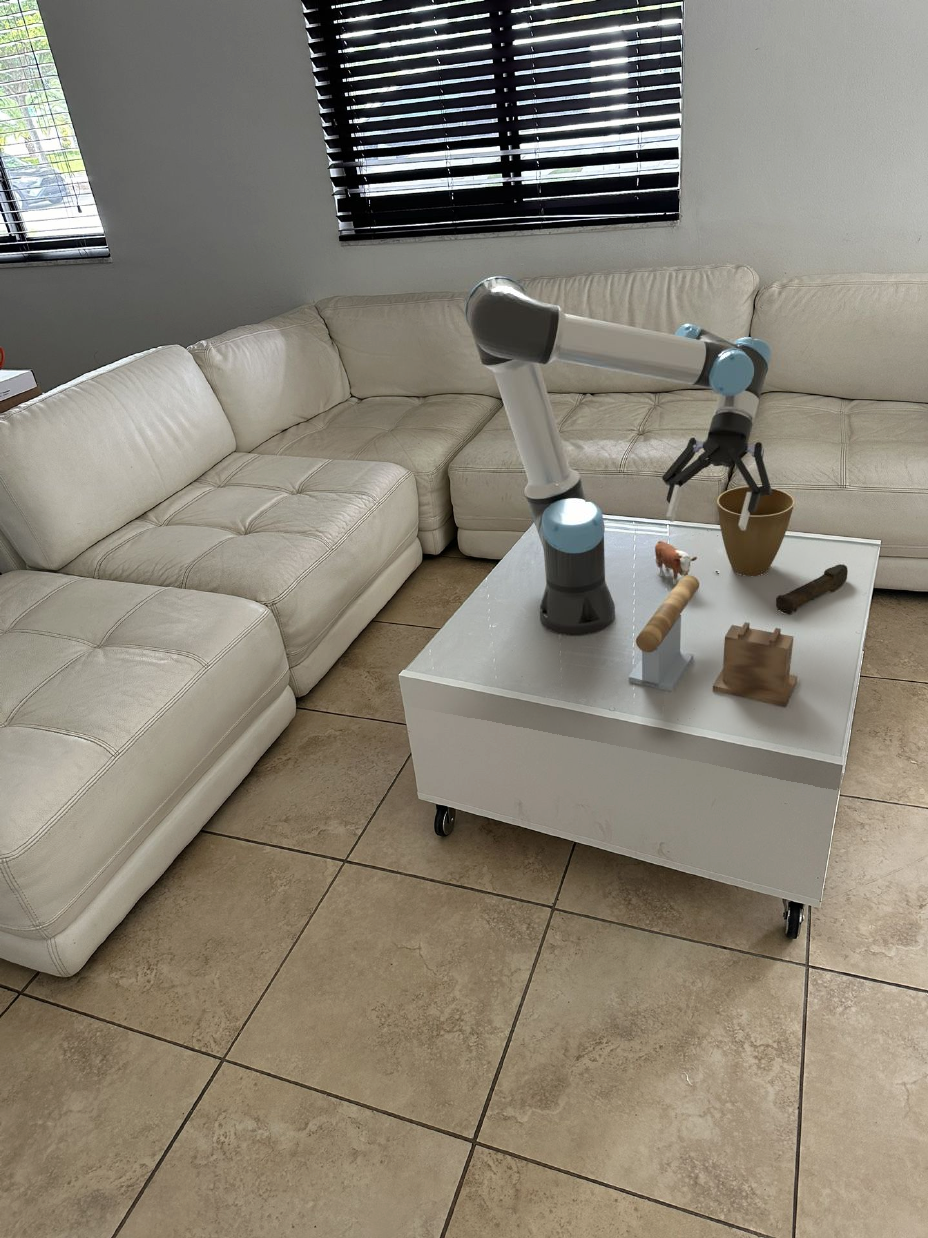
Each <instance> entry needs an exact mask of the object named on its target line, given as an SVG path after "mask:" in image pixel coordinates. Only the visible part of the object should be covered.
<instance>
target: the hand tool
mask: <svg viewBox="0 0 928 1238" xmlns="http://www.w3.org/2000/svg"><path fill="white" fill-rule="evenodd" d="M847 580H848V566H847V565H846V564H842V563H841V564H836V565H835V566H832V567H829V568H827V569H825V570H824V572H823V574H822V575H821V576H818V577H817V578H815V579H813V580H810V581H809V582H807V583H805V584H802V585H801V586H799V587H796V588H795V589H793V590H791V591H789V592H787V593H785V594H778V595H777V596H776V598H775V606H776V609H777V611H778V610H780V611H779V612H780V613H782V612H783V613H782V614H785V615H792V614H793V613H795V612H797V610H798V609H799V608H801V607H802V606H804V605H806V604H808V603H810V602H812V601H814V600H816V599H818V598H819V597H821V596H823V595H825V594H827V593H835V592H836V591H838V590H840V588H841V587H842V586H843V585H844V584H845V583H846V582H847Z"/></svg>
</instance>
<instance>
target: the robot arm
mask: <svg viewBox="0 0 928 1238" xmlns="http://www.w3.org/2000/svg"><path fill="white" fill-rule="evenodd" d="M464 311H465V313H464V315H465V319H466V322H467V326H468V328H469V329H470V331H471V335H472V338H473V340H474V343H475V347H476V350H477V353H478V356H479V359H480V361H481V365H482V367H485V368H487V369H489V370H490V371H492V372H493V376H494V378H495V383H496V385H497V387H498V391H499V395H500V397H501V399H502V400H501V401H502V402H503V406H504V409H505V413H506V415H507V417H508V418H507V419H508V422H509V424H510V428H511V432H512V433H513V436H514V439H515V440H514V441H515V443H516V446H517V449H518V452H519V456H520V458H521V462H522V465H523V468H524V472H525V474H526V477H527V481H528V482H527V484H526V486H525V488H524V495H525V497H526V501H527V504H528V506H529V507H528V508H529V509H530V517H531V520H532V522H533V523H534V525H535V528H536V532H537V534H538V537H539V540H540V543H541V546H542V549H543V554H544V555H543V557H544V569H545V570H544V571H545V572H544V573H545V586H544V587H545V588H544V591H543V595H542V598H541V601H540V605H539V619H540V623H541V625H543V627H545V628H546V630H548V631H551V632H553V633H556V634H559V635H564V636H574V637H575V636H585V635H586V636H587V635H591V634H595V633H598V632H600V631H602V630H605V629H606V628H608V627H609V626H610V625H612V623H613V622H614V620H615V619H616V618H615V617H616V605H615V601H614V600H613V597H612V594H611V591H610V589H609V586H608V584H607V582H606V567H605V566H606V565H605V563H606V562H605V557H606V556H605V530H606V529H605V522H604V515H603V513H602V510H601V509H600V508H599V506H598V505H596V504H595V503H593V502H591V501H588V500H587V496H586V494H585V490H584V486H583V483H582V479H581V476H580V473H579V472H578V471H576V470H575V469H571V468H570V466H569V462H568V459H567V456H566V454H567V453H566V451H565V448H564V444H563V441H562V438H561V435H560V434H561V433H560V431H559V428H558V425H557V421H556V417H555V414H554V411H553V408H552V404H551V401H550V397H549V393H548V390H547V387H546V383H545V381H544V380H545V379H544V377H543V373H542V370H541V367H540V364H542V365H549V364H550V363H552V362H553V361H560V362H563V363H564V362H565V363H569V364H570V363H571V364H576V365H582V366H588V367H591V368H599V369H602V370H603V369H604V370H609V371H614V372H619V373H627V374H631V375H637V376H642V377H648V378H653V379H659V380H664V381H669V382H673V383H674V382H675V383H681V384H686V385H691V386H695V387H699V388H704V389H711V390H712V391H713V392H715V393H716V394H718V396H717V400H716V403H715V407H714V411H713V416H712V418H711V422H710V425H709V429H708V432H707V433H708V434H707V437H706V439H705V440H704V441H701V440H697V439H696V438H695V437H691V438H689V440H688V442H687V444H686V448H685V449H684V450H683V451H682V453H680V454H679V456H678V457H677V458H676V459H675V460H674V462H673V463H672V464H671V466H670V467H669V468H668V469H667V470H666V472H665V473H664V474H663V475H662V476H661V478H662V481H663V482H664V484H665V485H666V486H669V489H668V491H667V494H666V495H667V496H666V501H667V504H668V505H669V506H668V508H667V512H666V518H667V520H668V521H669V522H670V523H671V522H672V523H674V522H675V518H676V515H677V511H678V508H679V504H680V499H681V497H682V493H683V489H682V488H681V487H682V486H683V485H684V484H686V483H687V482H688V481H689V480H691V479H692V478H694V476H696V475H697V474H699V473H700V472H701V471H702V470H703V469H706V468H708V467H709V466H711V465H713V467H722V466H723V467H724V468H731V467H732V466H735V467H736V469H737V470H738V471H739V473H740V475H741V477H742V478H743V480H744V481H745V483H746V484H747V486H749V488H750V489H751V491H752V493H751V492H747V494H746V498H745V501H744V505H743V509H742V513H741V517H740V520H739V524H738V526H739V527H740V529H741V530H743V531H745V530H746V526H747V522H748V518H749V514H750V513H755V511H756V509H757V505H758V502H759V498H760V497H761V496H762V495H770V494H771V493H772V490H771V488H772V486H771V483H770V480H769V476H768V475H769V474H768V473H767V468H766V466H765V462H764V453H765V449H764V446H763V443H761V441H758V442H756V443H755V444H749V440H750V438H751V437H750V436H751V432H752V430H753V429H752V428H753V425H754V424H753V422H754V420H755V417H756V414H757V410H758V406H759V401H760V397H761V394H762V391H763V386H764V383H765V379H766V376H767V373H768V371H769V365H770V361H771V360H770V359H771V348H770V346H769V345H768V344H767V342H765V341H764V340H762V339H759V338H752V337H749V336H748V337H740V338H739V339H736V340H735V341H733V342H730V341H728V340H726V339H724V338H722V337H721V336H719V335H716V334H715V333H712V332H710V331H708V330H706V329H704V328H703V327H701V326H696V325H694V324H691V323H685V324H683V325H681V326H680V327H679V328H678V329H677V330H676V332H675V333H674V334H669V333H666V332H659V331H654V330H650V329H643V328H640V327H635V326H630V325H624V324H620V323H613V322H610V321H608V322H607V321H603V320H599V319H595V318H594V319H593V318H590V317H583V316H577V315H574V314H570V313H569V314H568V313H565V312H564V311H563V309H562V308H561V307H560V306H559V305H558V304H557V305H555V304H551V303H547V302H544V301H541V300H539V299H536V298H534V297H532V296H530V295H528V294H527V293H526V291H525V289H524V287H523V286H522V285H521V284H520V283H519V282H518V281H516V280H514V279H512V278H509V277H506V276H491V277H487V278H486V279H483V280H482V281H480V282H479V283H478V284H476V285H475V286H474V288H473V289H472V290H471V292H470V293H469V296H468V298H467V301H466V303H465V310H464ZM701 449H703V452H702V453H701V454H700V455H698V457H697V459H695V460H694V461H693V462H691V463H690V461H692V459H693V458H694V457H695V455H696V453H699V451H701ZM748 453H750V455H751V456H752V457H754V461H755V464H756V467H757V468H756V469H757V471H758V474H759V475H758V477H759V479H760V482H761V486H760V485H758V484H757V483H756V481H755V479H753V476H752V475H751V473H750V471H749V469H748V468H747V467H746V465H745V464H744V462H743V460H742V458H744V457H745V456H746V455H747V454H748ZM689 463H690V464H689ZM688 464H689V465H688ZM687 465H688V466H687ZM758 486H760V487H758Z"/></svg>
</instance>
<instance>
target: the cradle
mask: <svg viewBox="0 0 928 1238" xmlns="http://www.w3.org/2000/svg"><path fill="white" fill-rule="evenodd" d="M681 627H682V614H680V615H679V617H678V618H677V619H676V621H675V622H674V624H673V625H672V627H671V628H670V629H669V631H668V632H667V634H666V635H665V636H664V638H663V639H662V641H661V642H660V643H659V645H658V646H657V648H656V649H655V650H654V651H653V652H650V653H647V652H644V651H642V650H641V659H640V661H639V662H637V664H636V666H635V667H634V668H633V670H632V671H631V672H630V674H629V676H628V682H629V683H634V684H638V685H643V686H646V687H652V688H654V689H655V688H656V689H659V690H662V691H668V692H672V693H673V692H674V690H675V689H676V687H677V686H678V684H679V683H680V681H681V679H682V678H683V676H684V675H685V673H686V671H687V670H688V668H689V666H690V665H691V663H692V662H693V660H694V659H695V658H694V657H695V656H694V653H689V652H686V651H681V637H682V636H681V633H682V632H681V630H682V628H681Z"/></svg>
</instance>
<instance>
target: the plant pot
mask: <svg viewBox="0 0 928 1238" xmlns="http://www.w3.org/2000/svg"><path fill="white" fill-rule="evenodd" d="M757 486H758V487H760V485H757ZM771 490H772V493H771V494H770V495H762V496H761V497H760V498H759V502H758V505H757V509H756V511H755V513H750V514H749V518H748V522H747V526H746V530H745V531H743V530H741V529H740V527H739V526H738V524H739V520H740V517H741V513H742V509H743V505H744V501H745V498H746V494H747V492H751V493H752V491H751V489H750V488H749V486H748V485H747V486H739V487H738V486H737V487H734V488H731V489H728V490H725V491H724V492H722V493H721V494H719V496H718V497H717V500H716V504H717V513H718V514H717V515H718V520H719V521H718V522H719V528H720V532H721V533H720V534H721V537H722V542H723V546H724V548H725V552H726V557H727V559H728V562H729V564H730V567H731V569H732V571H733V572H734V573H735V572H736V574H737V573H738V574H737V575H739V574H741V575H740V576H743V575H745V576H744V577H751V576H753V577H759V576H758V575H760V576H762V575H761V574H763V575H764V573H765V574H767V572H768V571H769V570H770V568H771V565H773V562H774V560H775V559H776V556H777V554H778V552H779V550H780V549H781V546H782V543H783V542H784V541H783V540H784V538H785V536H786V533H787V530H788V527H789V524H790V520H791V517H792V513H793V509H794V507H795V499H794V497H793V496H792V495H791V494H789V493H788V492H786V491H784V490H781V489H778V488H774V487H771Z"/></svg>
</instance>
